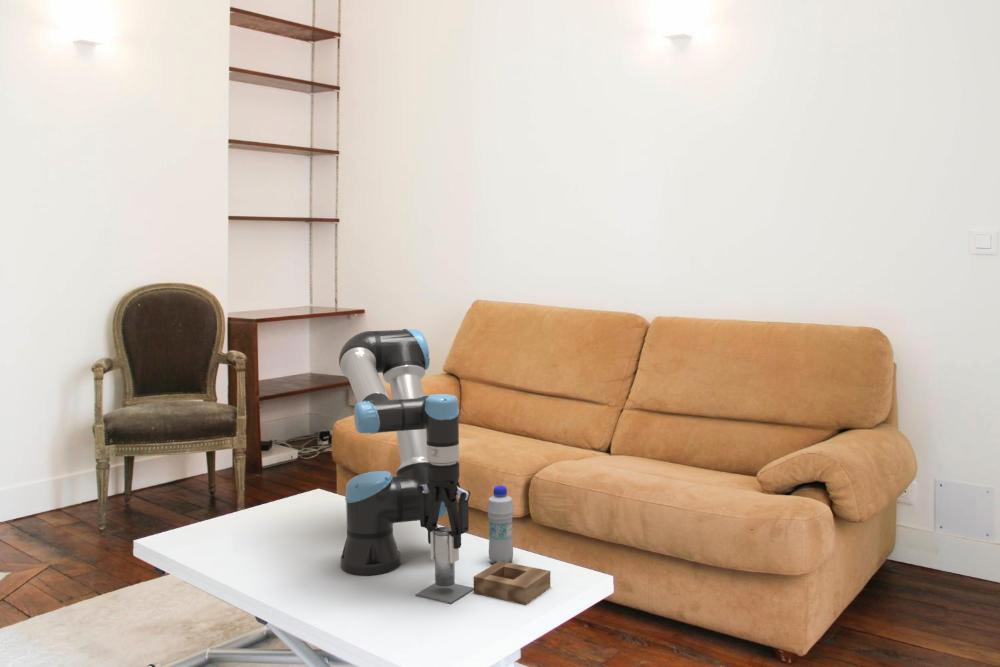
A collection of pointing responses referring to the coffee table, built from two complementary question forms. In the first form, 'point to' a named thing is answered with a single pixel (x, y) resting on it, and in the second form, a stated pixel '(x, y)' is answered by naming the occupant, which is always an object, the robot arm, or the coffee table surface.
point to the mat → (445, 592)
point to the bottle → (500, 526)
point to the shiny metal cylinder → (443, 558)
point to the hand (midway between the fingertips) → (444, 559)
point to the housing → (512, 582)
